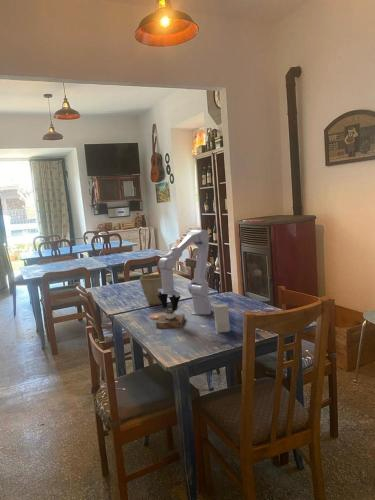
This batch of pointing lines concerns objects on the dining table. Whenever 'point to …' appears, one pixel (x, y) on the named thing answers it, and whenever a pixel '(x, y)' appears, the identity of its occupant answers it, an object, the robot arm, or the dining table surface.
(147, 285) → the plant pot
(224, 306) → the skincare box
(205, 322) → the dining table surface
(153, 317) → the dish
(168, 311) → the end cover
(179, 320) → the housing
